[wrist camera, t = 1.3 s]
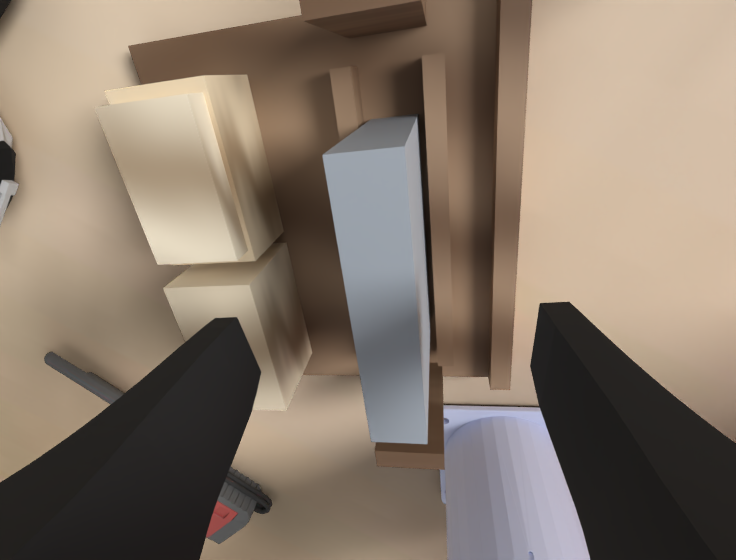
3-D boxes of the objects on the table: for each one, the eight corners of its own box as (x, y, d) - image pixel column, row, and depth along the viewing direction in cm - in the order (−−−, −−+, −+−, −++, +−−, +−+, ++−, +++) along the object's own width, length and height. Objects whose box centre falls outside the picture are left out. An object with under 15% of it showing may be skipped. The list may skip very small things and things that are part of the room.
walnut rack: (504, 365, 22) (529, 474, 16) (248, 364, 26) (189, 455, 19) (521, -19, 14) (585, -87, 8) (143, 47, 17) (-15, 33, 11)
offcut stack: (312, 352, 23) (286, 410, 19) (249, 352, 24) (212, 408, 20) (247, 74, 16) (187, 75, 12) (163, 87, 17) (81, 92, 13)
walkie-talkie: (293, 480, 32) (67, 333, 28) (273, 537, 28) (7, 376, 24) (239, 519, 35) (35, 395, 31) (216, 573, 32) (-20, 440, 28)
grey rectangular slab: (430, 317, 21) (427, 444, 14) (392, 318, 21) (371, 441, 14) (418, 113, 16) (404, 146, 9) (370, 119, 16) (322, 154, 9)
